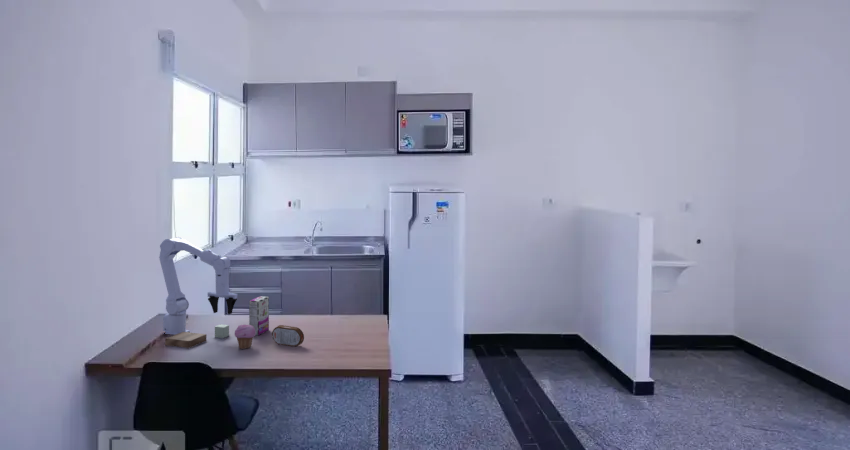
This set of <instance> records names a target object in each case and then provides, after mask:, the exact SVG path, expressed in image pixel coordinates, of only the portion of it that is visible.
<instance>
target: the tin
mask: <svg viewBox="0 0 850 450" xmlns="http://www.w3.org/2000/svg"><path fill="white" fill-rule="evenodd" d="M271 337H272V340H273V342H274V343H275V344H277V345H280V344H281V346H287V345H288V346H287V347H293V346H295V347H298V346H300V345H302V344H303V342H304V341H305V334H304V332H303V331H302V329H301V328H299V327H297V326H290V325H285V324H279V325H277V326H276V327H274V328H273V329H272V332H271Z"/></svg>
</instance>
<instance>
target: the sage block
mask: <svg viewBox="0 0 850 450" xmlns="http://www.w3.org/2000/svg"><path fill="white" fill-rule="evenodd" d="M229 336H230V325H229V324H217V325H215V326H214V338H219V339H225V338H227V337H229Z"/></svg>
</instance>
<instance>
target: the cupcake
mask: <svg viewBox="0 0 850 450" xmlns="http://www.w3.org/2000/svg"><path fill="white" fill-rule="evenodd" d="M255 334H256V333H255V329H254V327H253V326H251V325H249V324H240V325H238V326H237V328H236V329H235V330H234V336H235V338H236V339H237V343H238V344H237V345H238V348H239V349H241V350H245V349H250V348H251V347H252V343H253V339H254V338H255Z"/></svg>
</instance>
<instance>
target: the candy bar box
mask: <svg viewBox="0 0 850 450" xmlns="http://www.w3.org/2000/svg"><path fill="white" fill-rule="evenodd" d="M269 301H270V297H269V296H264V295H262V296H261V295H260V296H258V297H255V298H253V299H251V300H249V301H248V307H249V309H248V315H249V317H248V318H249V319H248V320H249V321H248V323H249V324H248V325H251V326H253V327H254V329H255V333H256V334H255V336H261V335H262V334H264V333H266V332H268V331H269V329H270V321H269V320H270V317H269V316H270V311H269V310H270V304H269V303H270V302H269ZM255 336H254V337H255Z"/></svg>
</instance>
